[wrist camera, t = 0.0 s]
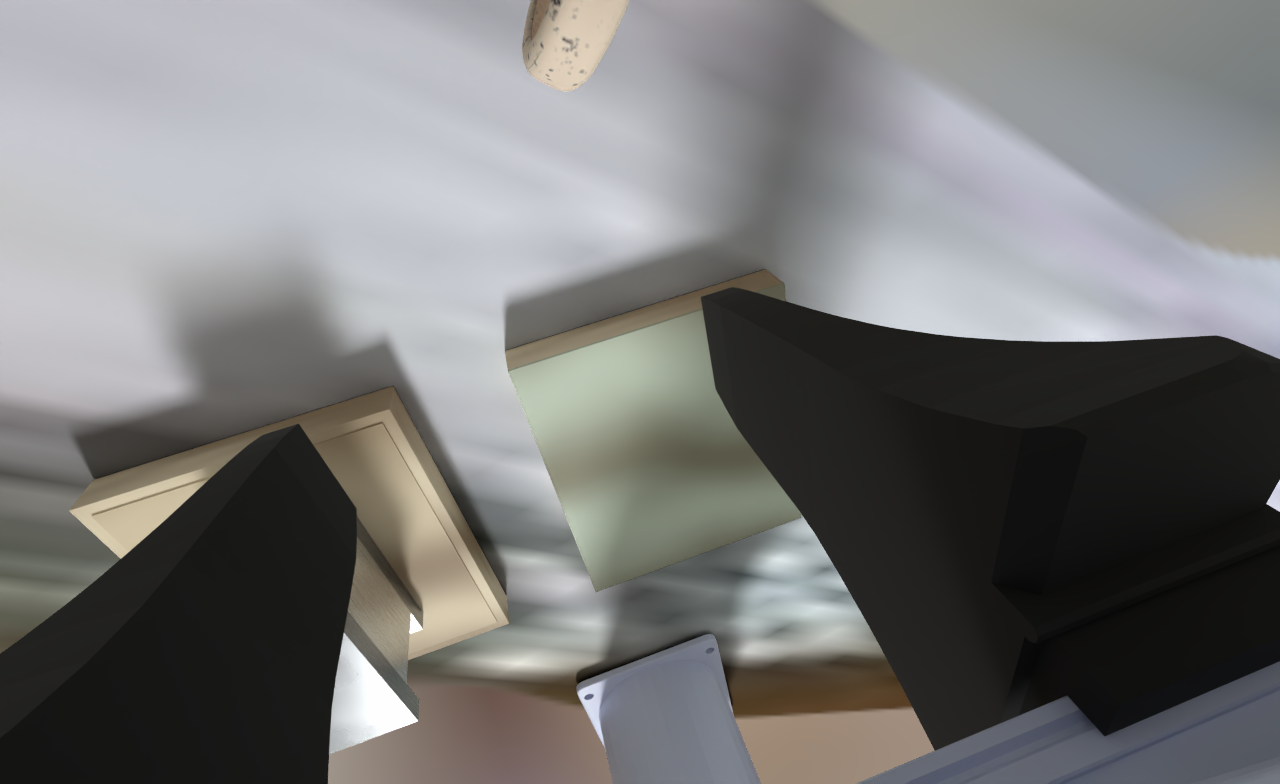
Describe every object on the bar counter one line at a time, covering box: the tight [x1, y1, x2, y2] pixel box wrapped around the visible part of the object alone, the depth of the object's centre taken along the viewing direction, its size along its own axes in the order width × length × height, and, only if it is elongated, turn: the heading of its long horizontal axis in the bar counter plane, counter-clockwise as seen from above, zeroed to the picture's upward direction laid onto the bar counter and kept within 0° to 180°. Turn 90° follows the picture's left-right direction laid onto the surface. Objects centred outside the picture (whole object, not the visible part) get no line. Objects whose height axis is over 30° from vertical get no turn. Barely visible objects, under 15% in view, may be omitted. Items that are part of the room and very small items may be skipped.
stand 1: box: [69, 386, 509, 660], centre depth 23 cm, size 12×10×2 cm
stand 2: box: [505, 269, 801, 592], centre depth 24 cm, size 12×10×2 cm
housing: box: [329, 517, 423, 754], centre depth 20 cm, size 7×4×5 cm, turn 11°
